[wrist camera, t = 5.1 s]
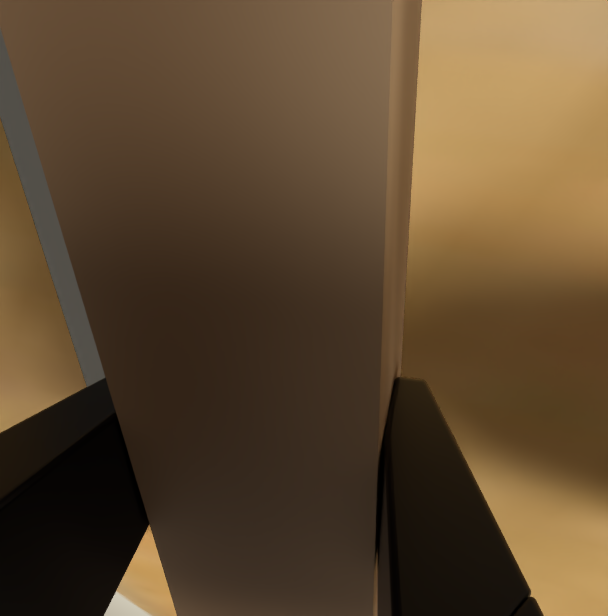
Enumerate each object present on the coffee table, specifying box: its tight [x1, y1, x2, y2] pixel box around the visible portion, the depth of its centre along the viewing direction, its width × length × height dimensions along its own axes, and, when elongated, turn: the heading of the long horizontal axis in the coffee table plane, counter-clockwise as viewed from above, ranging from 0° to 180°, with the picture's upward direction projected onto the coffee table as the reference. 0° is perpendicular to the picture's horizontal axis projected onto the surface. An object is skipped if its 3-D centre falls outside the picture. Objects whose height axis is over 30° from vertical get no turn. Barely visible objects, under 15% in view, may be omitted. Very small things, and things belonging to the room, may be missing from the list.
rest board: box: [0, 29, 105, 387], centre depth 18 cm, size 7×22×2 cm, turn 3°
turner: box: [0, 0, 422, 616], centre depth 9 cm, size 5×18×3 cm, turn 3°
